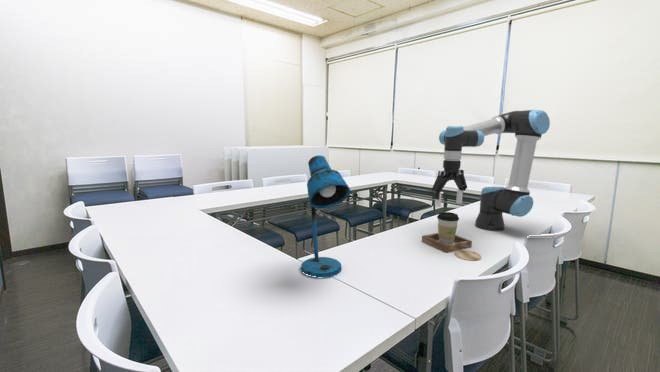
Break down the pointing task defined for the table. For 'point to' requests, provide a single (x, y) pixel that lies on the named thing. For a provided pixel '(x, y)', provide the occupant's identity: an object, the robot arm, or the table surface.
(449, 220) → the coffee cup
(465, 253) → the cork coaster
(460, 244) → the pocket frame
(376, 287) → the table surface
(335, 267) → the desk lamp
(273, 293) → the table surface
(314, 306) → the table surface
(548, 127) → the robot arm
